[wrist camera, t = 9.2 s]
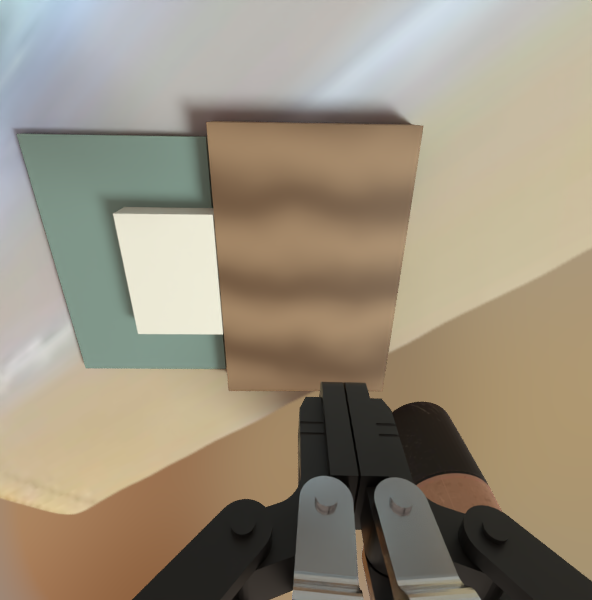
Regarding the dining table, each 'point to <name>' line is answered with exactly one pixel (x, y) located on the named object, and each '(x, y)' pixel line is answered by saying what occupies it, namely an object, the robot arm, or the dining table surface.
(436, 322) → the dining table surface
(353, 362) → the board
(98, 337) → the rubber mat
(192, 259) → the plastic block
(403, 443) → the travel mug
